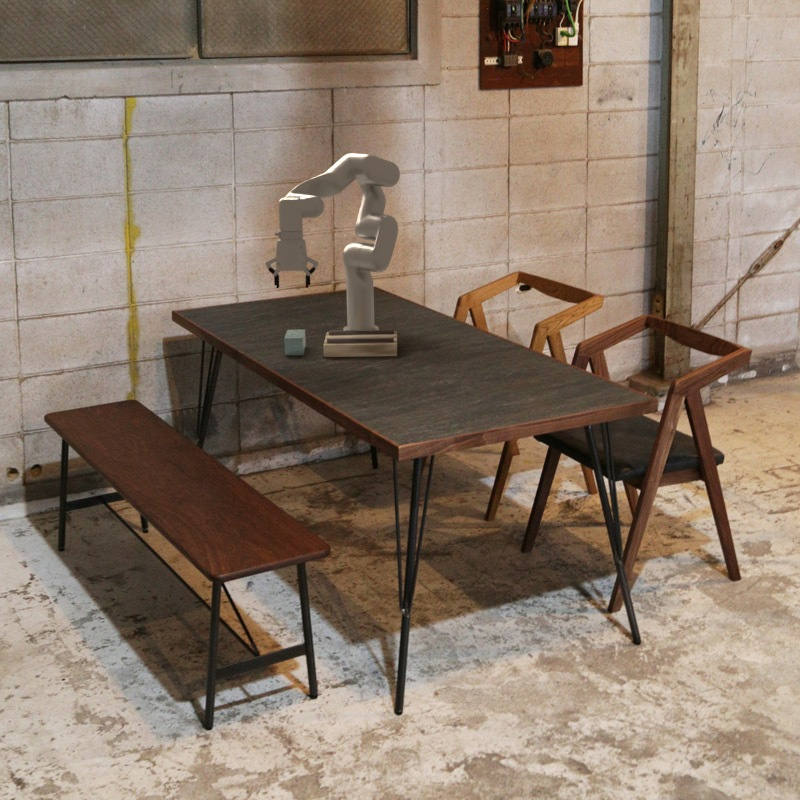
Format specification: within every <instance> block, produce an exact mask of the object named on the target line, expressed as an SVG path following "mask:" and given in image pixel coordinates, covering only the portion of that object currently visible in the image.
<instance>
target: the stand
mask: <svg viewBox="0 0 800 800" xmlns="http://www.w3.org/2000/svg"><path fill="white" fill-rule="evenodd" d="M323 357H324V358H343V357H345V358H346V357H348V358H349V357H359V358H360V357H398V331H397V330H396V331H395V329H379V330H343V329H340V330H328V331H327V332H326V334H325V337H324V341H323Z"/></svg>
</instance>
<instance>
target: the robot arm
mask: <svg viewBox="0 0 800 800" xmlns="http://www.w3.org/2000/svg"><path fill="white" fill-rule="evenodd" d="M400 178H401V172H400V167H399V166H398V165H397V164H396V163H395V162H393V161H391V160H387V159H384V158H383V157H379V156H376V155H372V154H367V153H355V152H352V153H351V152H350V153H347V154H344V155H343V156H342V157H341V158H340V159H339V160H338V161H336V162H335V163H334V164H332V166H330V167H329V168H328V169H327V170H326V171H325V172H324V173H321V174H319V175H316V176H315V177H312V178H309V179H307V180H305V181H301V183H299V184H297V185H296V186H295V187H293V188H292V189H291V190H290V191H289V192H288V193H287V194H286V195H285V197H284V196H283V197H281V198H280V199H279V201H278V214H279V215H278V221H279V223H278V225H279V226H278V227H279V229H278V231H275V232H274V236H275V237H278V239H277V241H276V247H275V248H276V249H275V252H276V253H275V256H274V257H273V258H271V259H269V260H267V261H265V266H266V268H267V269H268V272H269V273H270V274H272V275H273V277H274V279H273V280H274V286H276V289H279V288H280V274H279V273H280V272H301V271H303V272H304V273H305V288H306V289H309V286H311V275H313V274H314V272H315V271H316V269H317V267H318V265H319V261H317V260H315V259H313V258H311V257H309V256H308V249H307V244H306V239H305V238H304V235H303V234H304V233H303V229H304V228H303V226H304V225H303V219H316V218H318V217H320V216H321V215H322V214H323V212H324V210H325V203H324V200H322V199H324V198H325V199H326V198H331V197H334V196H337V195H339V194H341V193H342V192H343V191H344V190H345V189H346V188H348V187H349V186H350V185H351V184H352V183H353V182H354V181H356V182H357V183H358V186H359V188H360V192H361V202H360V205H359V206H360V207H359V210H358V214H357V217H356V220H355V225H354V234H355V236H356V237H357V238H359V239H361V240H364V241H370V242H374V243H369V242H360V241H354V242H353V241H352V242H350V243H348V244H347V245H346V246H344V248H343V251H342V263H343V267H344V270H345V283H346V285H345V286H346V288H345V289H346V290H345V291H346V313H347V314H346V321H347V325H346V326H345V325H344V327H343V328H342V330H380V329H379V326H377V325H376V324H375V302H374V301H375V299H374V298H375V297H374V289H375V287H374V280H373V276H372V274H371V272H372V273H384V271H386V270H387V269H388V268H389V266H390V263H391V261H392V257H393V254H394V250H395V245H396V243H397V239H398V234H399V225H398V222H397V220H396V218H395V217H394V216H392V215H389V214H384V212H385V208H386V205H387V204H386V203H387V199H386V196H385V192H384V190H383V188H382V187H384V188H391V187H394V186H395V185H397V184H398V182H399V181H400ZM273 263H275V267H276V269H275V268H273V267H272V265H273ZM308 263H311V264H312V267H311V268H310V269H309V268H308Z"/></svg>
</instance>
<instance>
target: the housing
mask: <svg viewBox="0 0 800 800" xmlns="http://www.w3.org/2000/svg"><path fill="white" fill-rule="evenodd" d="M283 340H284V341H283V343H284V355H285V356H304V355H305V350H306V347H307V345H306V343H307V342H306V329H287V330H286V331H285V335H284V339H283Z"/></svg>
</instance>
